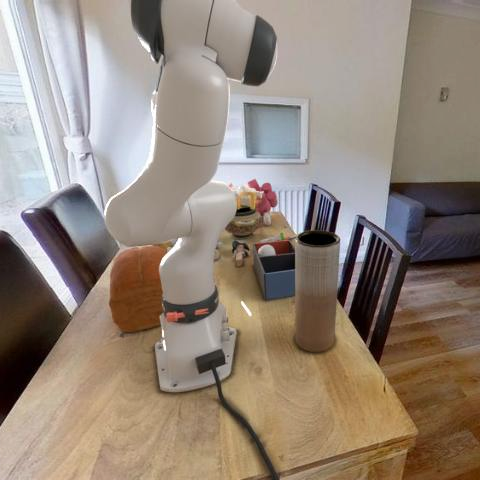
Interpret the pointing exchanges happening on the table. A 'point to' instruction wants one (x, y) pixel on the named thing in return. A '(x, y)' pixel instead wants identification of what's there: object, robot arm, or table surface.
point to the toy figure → (240, 251)
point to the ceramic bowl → (244, 223)
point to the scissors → (290, 237)
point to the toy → (264, 200)
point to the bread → (136, 288)
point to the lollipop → (266, 251)
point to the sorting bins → (276, 269)
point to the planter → (316, 289)
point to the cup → (273, 238)
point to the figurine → (167, 244)
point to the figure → (246, 196)
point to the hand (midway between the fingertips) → (207, 182)
